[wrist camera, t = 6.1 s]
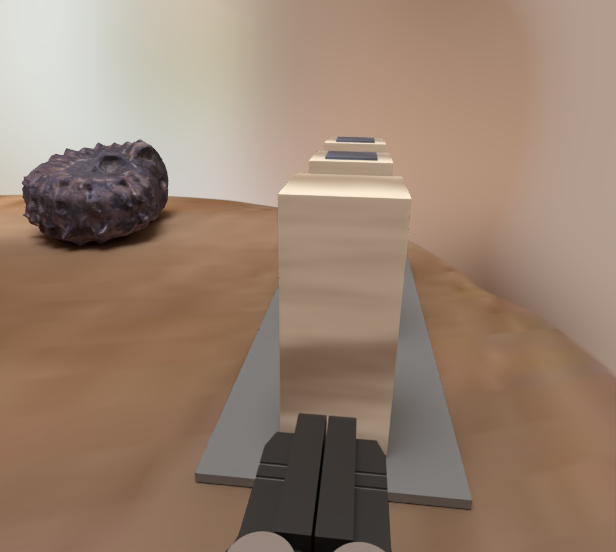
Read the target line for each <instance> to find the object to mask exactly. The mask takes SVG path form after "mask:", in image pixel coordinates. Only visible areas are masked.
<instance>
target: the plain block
mask: <svg viewBox="0 0 616 552" xmlns="http://www.w3.org/2000/svg"><path fill="white" fill-rule="evenodd" d="M410 210H411V197H410V195H409V192H408V190H407V188H406V186H405V183H404V181H403V179H402V177H395V176H365V175H334V174H303V173H296V174H295V175H294V176H293V177H292V178H291V180H290V181H289V182H288V183H287V184H286V185H285V187H284V188H283V189H282V190H281V191H280V192H279V194H278V239H279V339H280V432H287V433H294V432H295V428H296V423H297V418H298V414H299V413H306V414H318V415H327V426H328V418H329V416H341V417H353V418H357V423H356V439H365V440H377V442H378V444H379V445H380V447H381V449H382V451H383V452H384V454H385V455H387V449H388V439H389V428H390V418H391V407H392V397H393V387H394V376H395V366H396V355H397V345H398V335H399V324H400V314H401V303H402V293H403V283H404V272H405V262H406V251H407V241H408V230H409V220H410ZM326 435H327V430H326Z"/></svg>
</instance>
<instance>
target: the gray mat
mask: <svg viewBox="0 0 616 552" xmlns="http://www.w3.org/2000/svg"><path fill="white" fill-rule="evenodd" d="M276 432H280V339H279V286H278V288H277V290H276V292H275V295H274V297H273V299H272V301H271V304H270V306H269V308H268V310H267V313H266V315H265V317H264V319H263V321H262V324H261V326H260V328H259V330H258V333H257V335H256V337H255V339H254V342H253V344H252V346H251V348H250V351H249V353H248V355H247V357H246V360H245V362H244V364H243V366H242V369H241V371H240V373H239V375H238V377H237V380H236V382H235V384H234V386H233V389H232V391H231V393H230V395H229V398H228V400H227V402H226V404H225V407H224V409H223V411H222V413H221V416H220V418H219V420H218V422H217V425H216V427H215V429H214V431H213V433H212V436H211V438H210V440H209V442H208V445H207V447H206V449H205V451H204V454H203V456H202V458H201V460H200V463H199V465H198V467H197V469H196V472H195V480H196V482H204V483H214V484H224V485H234V486H244V487H253V484H254V481H255V479H256V474H257V470H258V467H259V465H260V460H261V456H262V453H263V449H264V446H265V444H266V443H267V442H268V441H269V440H270V439H271V438H272V437H273V435H274V434H275V433H276ZM385 456H386V468H387V486H388V501H393V502H403V503H413V504H423V505H433V506H443V507H453V508H463V509H471V505H472V497H471V493H470V490H469V486H468V482H467V478H466V475H465V471H464V467H463V463H462V459H461V456H460V452H459V448H458V444H457V441H456V437H455V433H454V429H453V426H452V422H451V418H450V414H449V410H448V407H447V403H446V399H445V395H444V392H443V388H442V384H441V380H440V377H439V373H438V369H437V365H436V362H435V358H434V354H433V350H432V346H431V343H430V339H429V335H428V331H427V328H426V324H425V320H424V316H423V313H422V309H421V305H420V301H419V297H418V294H417V290H416V286H415V282H414V279H413V275H412V271H411V267H410V264H409V260H408V258H406V262H405V272H404V283H403V293H402V303H401V314H400V324H399V335H398V345H397V355H396V366H395V376H394V387H393V397H392V407H391V418H390V428H389V439H388V449H387V455H385Z"/></svg>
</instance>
